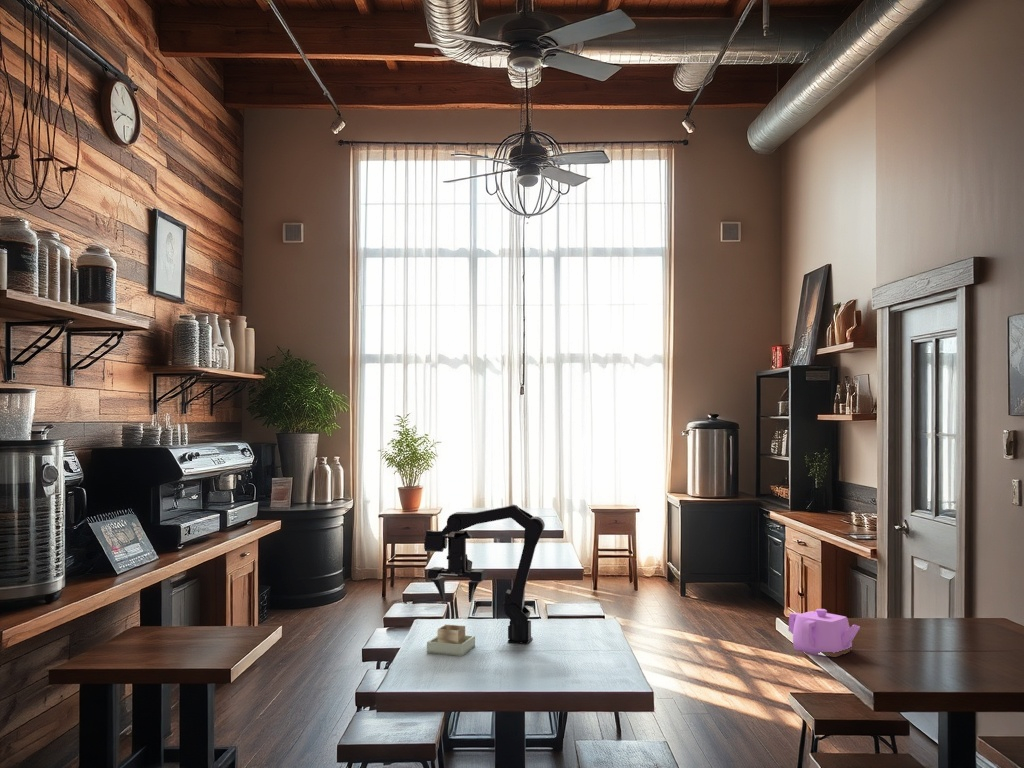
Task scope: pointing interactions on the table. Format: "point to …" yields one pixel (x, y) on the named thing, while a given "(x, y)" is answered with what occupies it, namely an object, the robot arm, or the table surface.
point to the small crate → (451, 634)
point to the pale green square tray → (451, 646)
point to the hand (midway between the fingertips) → (456, 601)
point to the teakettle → (821, 632)
